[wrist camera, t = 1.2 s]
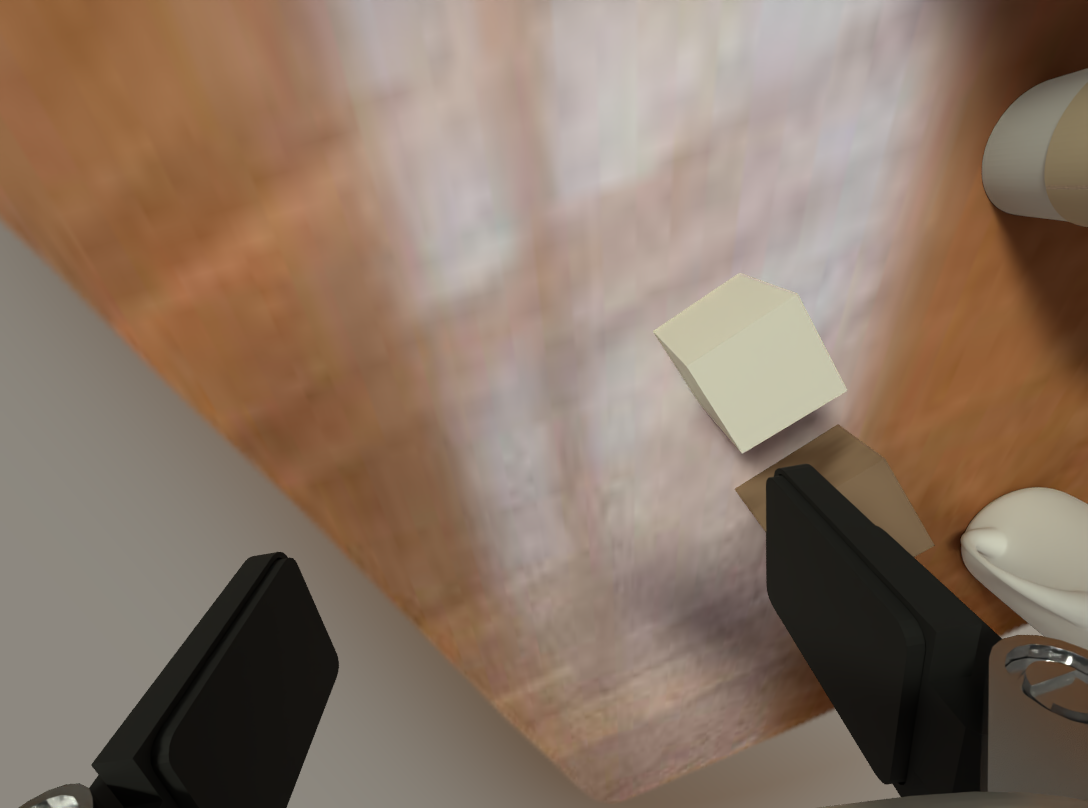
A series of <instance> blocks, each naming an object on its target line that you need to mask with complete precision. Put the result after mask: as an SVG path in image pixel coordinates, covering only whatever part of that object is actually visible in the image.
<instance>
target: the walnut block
mask: <svg viewBox="0 0 1088 808" xmlns="http://www.w3.org/2000/svg"><path fill="white" fill-rule="evenodd" d="M800 464H810V465H811V466H812V467H814V468H815V469H816V470H817V471H818V472H819V473H820V474H821V475H822V476H823V477H824V478H825V479H826V480H827V481H829V482H830V483H831V484H832V485H833V486H834V487H835V488H836V489H837V490H838V491H839V492H840V493H841V494H842V495H844V496H845V497H846V498H847V499H848V500H849V501H850V502H851V503H852V504H853V505H854V506H855V507H856V508H857V509H859V510H860V511H861V512H862V513H863V514H864V515H865V516H866V517H867V518H868V519H869V520H870V521H871V522H872V523H874V524H875V525H876V526H879V527H880V528H882V529H883V530H884V531H886V532H887V533H888V534H889V535H890V536H891V537H892V538H893V539H894V540H896V541H897V542H898V543H899V544H900V545H901V546H902V547H903V548H904V549H905V550H906V551H907V552H909V553H910V554H911V555H912V556H913V557H915V556H917V555H918V554H920V553H922V552H924V551H926V550H927V549H929V548H931V547H933V546H935V545H934V544H933V542H932V540H931V538H930V537H929V535H928V533H927V531H926V530H925V528H924V526H923V524H922V523H921V521H920V519H919V517H918V516H917V514H916V512H915V510H914V509H913V507H912V505H911V503H910V502H909V500H908V498H907V496H906V495H905V493H904V491H903V489H902V488H901V486H900V484H899V482H898V481H897V479H896V477H895V475H894V474H893V472H892V470H891V468H890V467H889V465H888V463H887V461H886V460H885V458H884V457H882V456H881V455H880V454H878V453H877V452H875V451H874V450H873V449H871V448H870V447H869V446H867V445H866V444H864V443H863V442H862V441H860V440H859V439H858V438H856V437H855V436H853V435H852V434H851V433H849V432H848V431H847V430H845V429H844V428H842V427H841V426H840V425H836V426H835V427H833V428H831V429H830V430H828V431H827V432H825V433H823V434H822V435H820V436H819V437H817V438H815V439H814V440H812V441H811V442H809V443H808V444H806V445H804V446H803V447H801V448H800V449H798V450H796V451H795V452H793V453H792V454H790V455H788V456H787V457H785V458H784V459H782V460H780V461H779V462H777V463H776V464H774V465H772V466H771V467H769V468H768V469H766V470H764V471H763V472H761V473H760V474H758V475H756V476H755V477H753V478H752V479H750V480H748V481H747V482H745V483H744V484H742V485H740V486H739V487H737V488H736V489H735V490H736V492H737V493H738V494H739V496H740V497H741V499H742V500H743V501H744V503H745V504H746V505H747V507H748V508H749V510H750V511H751V512H752V514H753V515H754V517H755V518H756V519H757V521H758V522H759V523H760V525H761V526H762V528H763V529H764V530H765V532H766V481H767V479H768V478H769V477H774V473H775V470H776V469H778V468H782V467H788V466H794V465H800Z"/></svg>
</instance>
